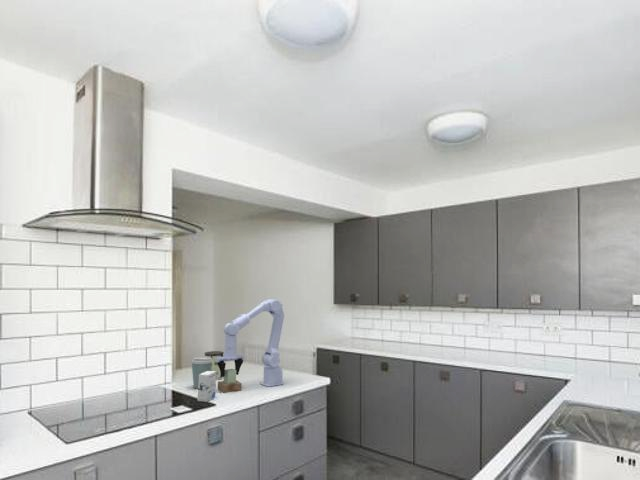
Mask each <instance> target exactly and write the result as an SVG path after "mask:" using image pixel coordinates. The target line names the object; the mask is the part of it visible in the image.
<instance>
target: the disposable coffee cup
mask: <svg viewBox="0 0 640 480" xmlns="http://www.w3.org/2000/svg"><path fill="white" fill-rule="evenodd" d="M212 362H213V360H212V358H208V357H205V356H202V357H201V356H199V357H193V358H192V359H191V362H190V363H191V371H192V381H193V382H192V383H193V388H194V389H196V390H198V383H199V374H201V373H204V372H206V371H211V366H212Z"/></svg>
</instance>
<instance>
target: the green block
mask: <svg viewBox="0 0 640 480" xmlns="http://www.w3.org/2000/svg"><path fill="white" fill-rule="evenodd" d="M236 380H237V375H236V370H235V368H227V369H226V368H225V376H224V377H223V381H224V383H227V384H230V383H236Z"/></svg>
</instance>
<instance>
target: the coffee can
mask: <svg viewBox="0 0 640 480" xmlns="http://www.w3.org/2000/svg"><path fill="white" fill-rule="evenodd" d="M224 354H225V351H220V350H218V351H217V350H214V351H213V350H212V351H206V352H204V357H208V358H212V360H213V362H212V366H211V371H216V381H219V380H223V379H224V377H222V376H221V372H220V369H219V366H218V364H217V362H216V358H219V357H224Z"/></svg>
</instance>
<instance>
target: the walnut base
mask: <svg viewBox="0 0 640 480" xmlns="http://www.w3.org/2000/svg"><path fill="white" fill-rule="evenodd" d="M217 390H218V391H219V392H221V393H223V394H226V393H235V392H242V382H241V381H239V380H237V379H236V383H230V384H227V383H224V380H222V381H217Z"/></svg>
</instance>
